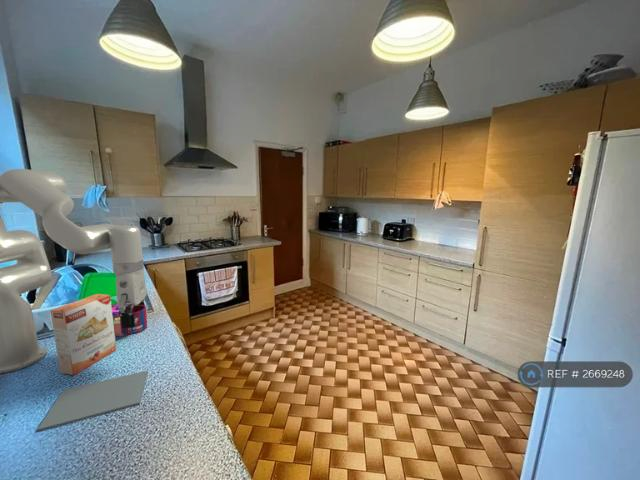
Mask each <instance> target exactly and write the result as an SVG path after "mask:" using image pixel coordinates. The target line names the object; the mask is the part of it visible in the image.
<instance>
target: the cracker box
mask: <svg viewBox="0 0 640 480" xmlns="http://www.w3.org/2000/svg"><path fill="white" fill-rule="evenodd" d="M111 306H112V299H111V295H110V294H102V293H101V294H100V293H95V294H93V295H90V296H87V297H85V298H82V299H79V300H76V301H73V302H71V303H67V304H65V305H62V306H61V305H60V306H58V307H56V308H52V309H51V310H50V317H51V322H52V329H53V335H54V342H55V349H56V354H57V362H58V367H59V369H58V370H59V373H60V374H66V375H71V376H75V375H77V374H79V373H80V372H82V371H84V370H85V369H87V368H89V367H90V366H92V365H93V364H96V363H97V362H98V361H101V360H102V359H104V358H106V357H107V356H109V355H110V354H112V353H114V352H116V351H117V346H116V345H117V344H116V335H115V334H114V325H113V316H112V307H111Z"/></svg>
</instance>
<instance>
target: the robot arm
mask: <svg viewBox="0 0 640 480" xmlns="http://www.w3.org/2000/svg"><path fill="white" fill-rule="evenodd" d="M67 192H68V185H67V182H66V180H65V179H64V178H63V177H62V176H61V175H59V174H58V173H56V172H53V171H48V170H38V169H28V168H27V169H25V168H16V169H15V168H14V169H9V170H6V171H4V172H3V173H1V174H0V204H1V203H2V204H3V203H4V204H5V203H7V204H8V203H21V204H22V205H25V206H26V207H27V208H29V209H30V210H31V211H33V212H34V213H36V214H37V215H39V216H40V217H42V219H41V223H42V226H43V229H44V231H45V234H47V236H48V237H49V238H50V239H51V240H52V241H53V242H55V243H56V244H58V245H60V246H61V247H62V248H64V249H66V250H67V251H69V252H72V253H74V254H79V255H87V254H91V253H95V252H99V251H103V250H108V249H110V256H111V263H112V265H111V266H112V271H113V274H114V275H116V277H115V286H116V289H115V290H116V299H117V303H118V309H119V313H120V316H121V323H122V328H130V327H134V326H135V319H134V314H132V313H133V305H135V306H137V305H144V306H146V305H145V298H146V297H147V296H148V295H147V294H148V293H147V291H148V290H147V286H146V284H147V283H146V279H145V273H144V270H145V266H144V258H143V245H142V239H141V238H142V237H141V231H140V230H141V229H140V228H139V227H138V226H136V225H130V224H129V225H127V224H126V225H118V224H113V223H102V224H93V225H92V224H91V225H86V226H79V225H77V224H75V223H74V222H73V221H71V220H69V218H67V216H69V215H70V213H72V211H73V209H74V207H75V202H74V200H73V198H72V197H70V196H69V195H67V194H66V193H67ZM48 259H49V258H48V256H47V253H46V251H45V247H44V244H43V242H42V240H41V239H40V238H39V237H38V235H36V234H35V233H33V232H32V231H29V230H25V229H20V230H19V229H17V230H9V231H8V229H7V228H6V225H5V222H4V219H3V217H2V216H1V215H0V264H5V263H8V262H9V263H10V262H13V261H16V262H17V263H16V264H12V265H7V266H3V267H0V374H5V373H10V372H14V371H17V370H21V369H24V368H27V367H30V366H31V365H34V364H35V363H37V362H39V361H41V360H43V358H45V356H47V349H46V348H45V347H41V346H39V341H38V335H37V330H36V325H35V324H36V323H35V320H34V319H35V318H34V314H33V313H34V312H33V309H32V306H31V304H30V303H29V302H28V301H27V300H25V299H24V298H23V297H22V296H21V295H22V294H25V293H27V292H28V293H29V292H30V291H34V290H36V289H40V288H42V287H45V286H47V285H49V283H50V282H51V279H52V277H53V276H52V270H51V266H50V263H49V260H48ZM128 303H131V304H128ZM126 307H130V309H129V310H128V309H126Z"/></svg>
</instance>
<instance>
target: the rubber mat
mask: <svg viewBox="0 0 640 480" xmlns="http://www.w3.org/2000/svg"><path fill="white" fill-rule="evenodd" d="M148 374H149V370H144V371H140V372H135V373H131V374H125V375H121V376H117V377H113V378H109V379H108V378H107V379H103V380H100V381H96V382H91V383H86V384H82V385H78V386H73V387H69V388H64V389H63V390H62V391H61V393H60V394H59V396H58V397H57V399H56V401H55V402H54V404H53V405H52V407H51V408H50V409H49V411H48V413H47V414H46V416H45V417H44V419H43V420H42V422H41V423H40V425H39V427H38V428H37V432H38V433H39V432H42V431H45V430H49V429H53V428H56V427H60V426H65V425H68V424H72V423H75V422H79V421H84V420H87V419H90V418H95V417H99V416H103V415H105V414H109V413H112V412H116V411H120V410H124V409H128V408H131V407H134V406H138V405H141V401H142V398H143V392H144V389H145V386H146V385H145V384H146V381H147V377H148Z"/></svg>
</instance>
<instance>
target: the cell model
mask: <svg viewBox="0 0 640 480" xmlns="http://www.w3.org/2000/svg"><path fill="white" fill-rule="evenodd" d="M127 304H131V303H127ZM111 307H112V316H113V325H114V334H115V336H117V337H119V336H120V337H121V336H122V337H123V336H125V335H124V334H122V333H121V325H120V315H119V309H118V302H115V303H114V304H111ZM146 316H147V317H148V316H149V315H148V309H147V307H146Z"/></svg>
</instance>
